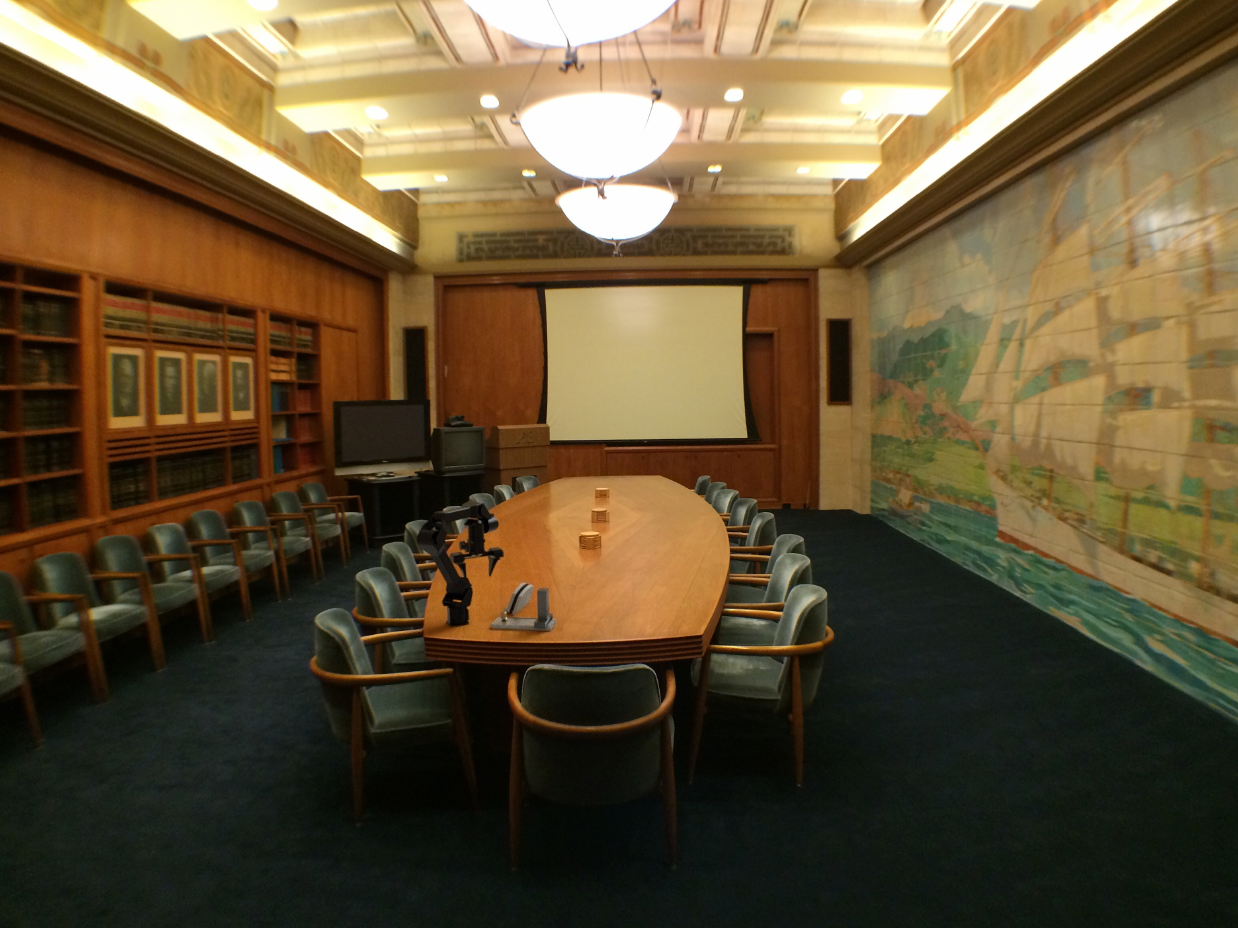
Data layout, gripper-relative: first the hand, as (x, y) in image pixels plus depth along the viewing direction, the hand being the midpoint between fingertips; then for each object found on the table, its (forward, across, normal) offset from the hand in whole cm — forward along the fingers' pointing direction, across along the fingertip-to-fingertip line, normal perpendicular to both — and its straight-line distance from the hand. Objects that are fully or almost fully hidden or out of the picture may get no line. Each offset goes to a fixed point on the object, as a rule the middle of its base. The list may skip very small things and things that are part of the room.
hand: (477, 578), depth 252 cm
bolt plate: (+13, -9, +22) cm, 27 cm away
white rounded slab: (+13, -15, +2) cm, 20 cm away
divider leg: (+13, -14, +26) cm, 33 cm away
